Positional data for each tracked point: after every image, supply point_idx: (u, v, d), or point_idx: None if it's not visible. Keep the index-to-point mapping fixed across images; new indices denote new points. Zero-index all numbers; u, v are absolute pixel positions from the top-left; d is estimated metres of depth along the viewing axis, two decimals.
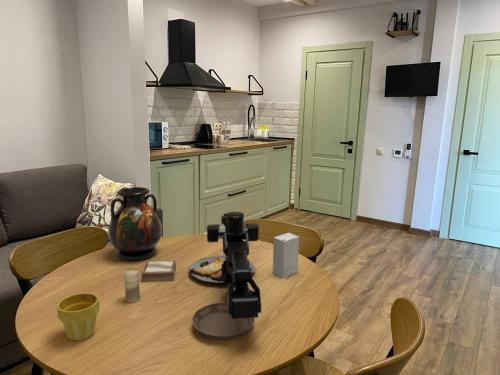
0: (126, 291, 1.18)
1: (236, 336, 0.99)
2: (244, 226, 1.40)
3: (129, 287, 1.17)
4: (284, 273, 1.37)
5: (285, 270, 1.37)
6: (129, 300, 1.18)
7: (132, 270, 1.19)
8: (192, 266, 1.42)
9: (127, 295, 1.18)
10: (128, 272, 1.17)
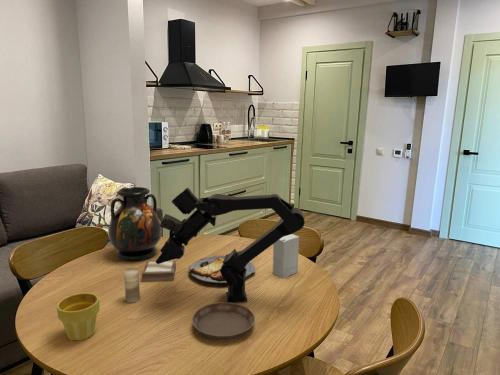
0: (126, 291, 1.18)
1: (236, 336, 0.99)
2: None
3: (129, 287, 1.17)
4: (284, 273, 1.37)
5: (285, 270, 1.37)
6: (129, 300, 1.18)
7: (132, 270, 1.19)
8: (192, 266, 1.42)
9: (127, 295, 1.18)
10: (128, 272, 1.17)
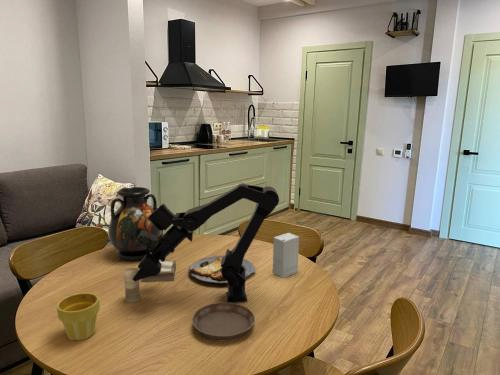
0: (126, 291, 1.18)
1: (236, 336, 0.99)
2: None
3: (129, 287, 1.17)
4: (284, 273, 1.37)
5: (285, 270, 1.37)
6: (129, 300, 1.18)
7: (132, 270, 1.19)
8: (192, 266, 1.42)
9: (127, 295, 1.18)
10: (128, 272, 1.17)
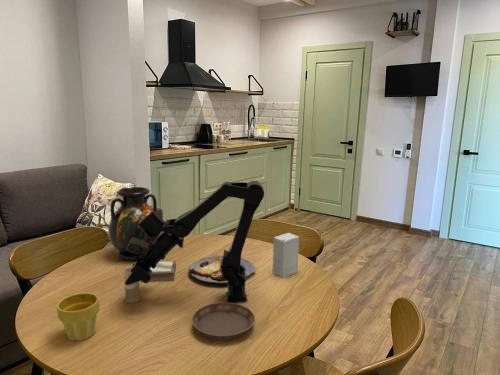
0: (126, 291, 1.18)
1: (236, 336, 0.99)
2: None
3: (129, 287, 1.17)
4: (284, 273, 1.37)
5: (285, 270, 1.37)
6: (129, 300, 1.18)
7: None
8: (192, 266, 1.42)
9: (127, 295, 1.18)
10: (128, 272, 1.17)
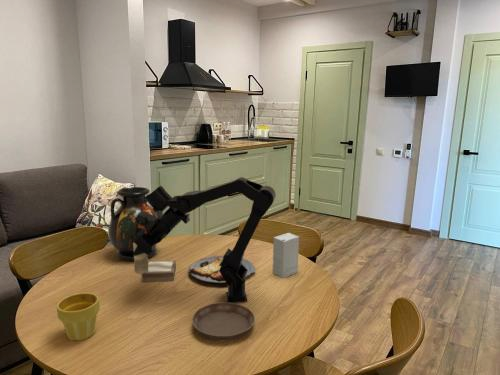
0: (134, 262, 1.24)
1: (236, 336, 0.99)
2: None
3: (136, 258, 1.22)
4: (284, 273, 1.37)
5: (285, 270, 1.37)
6: (137, 271, 1.23)
7: None
8: (192, 266, 1.42)
9: (135, 266, 1.23)
10: None
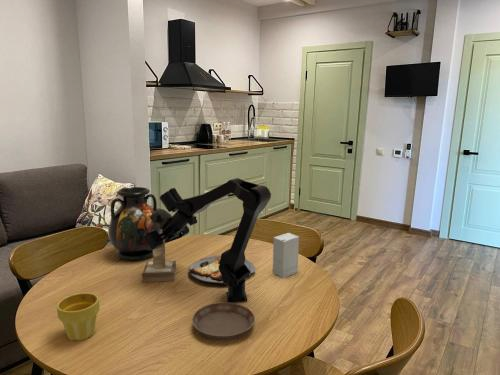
0: (153, 257, 1.37)
1: (236, 336, 0.99)
2: None
3: (153, 254, 1.35)
4: (284, 273, 1.37)
5: (285, 270, 1.37)
6: (154, 265, 1.36)
7: None
8: (192, 266, 1.42)
9: (153, 261, 1.37)
10: None
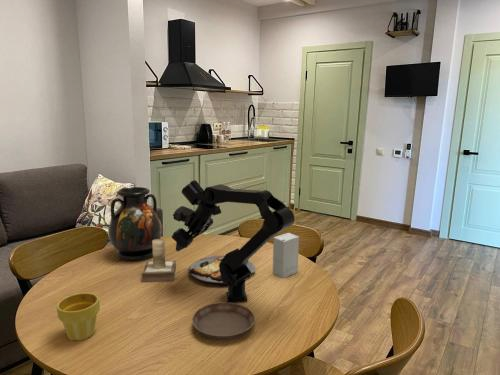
0: (153, 257, 1.37)
1: (236, 336, 0.99)
2: None
3: (153, 254, 1.35)
4: (284, 273, 1.37)
5: (285, 270, 1.37)
6: (154, 265, 1.36)
7: (160, 240, 1.36)
8: (192, 266, 1.42)
9: (153, 261, 1.37)
10: (154, 241, 1.35)
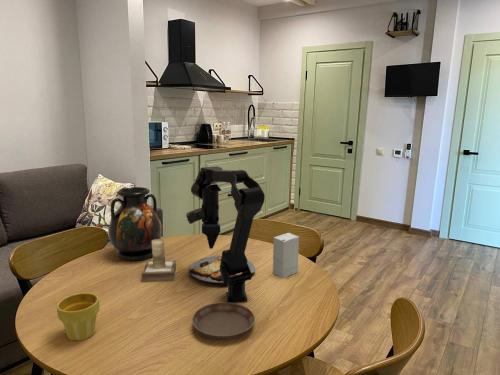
0: None
1: (236, 336, 0.99)
2: None
3: (153, 255, 1.35)
4: (284, 273, 1.37)
5: (285, 270, 1.37)
6: (154, 266, 1.36)
7: (159, 240, 1.36)
8: (192, 266, 1.42)
9: (153, 261, 1.36)
10: (153, 241, 1.35)
